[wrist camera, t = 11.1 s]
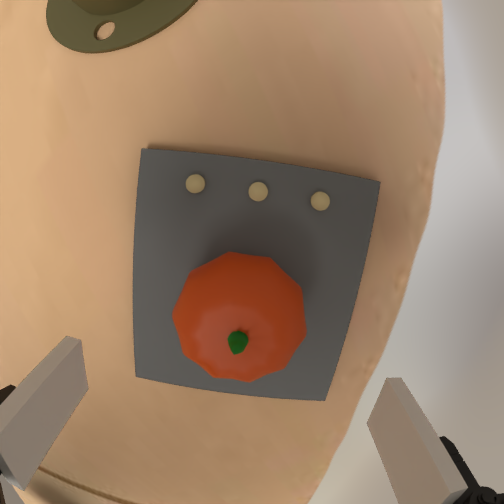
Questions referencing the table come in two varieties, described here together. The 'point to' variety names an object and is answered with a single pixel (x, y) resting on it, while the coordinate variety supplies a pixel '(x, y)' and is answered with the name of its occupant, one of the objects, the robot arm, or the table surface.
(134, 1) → the flange
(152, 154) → the mat
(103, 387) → the table surface
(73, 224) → the table surface
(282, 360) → the pumpkin
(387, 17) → the table surface
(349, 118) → the table surface
